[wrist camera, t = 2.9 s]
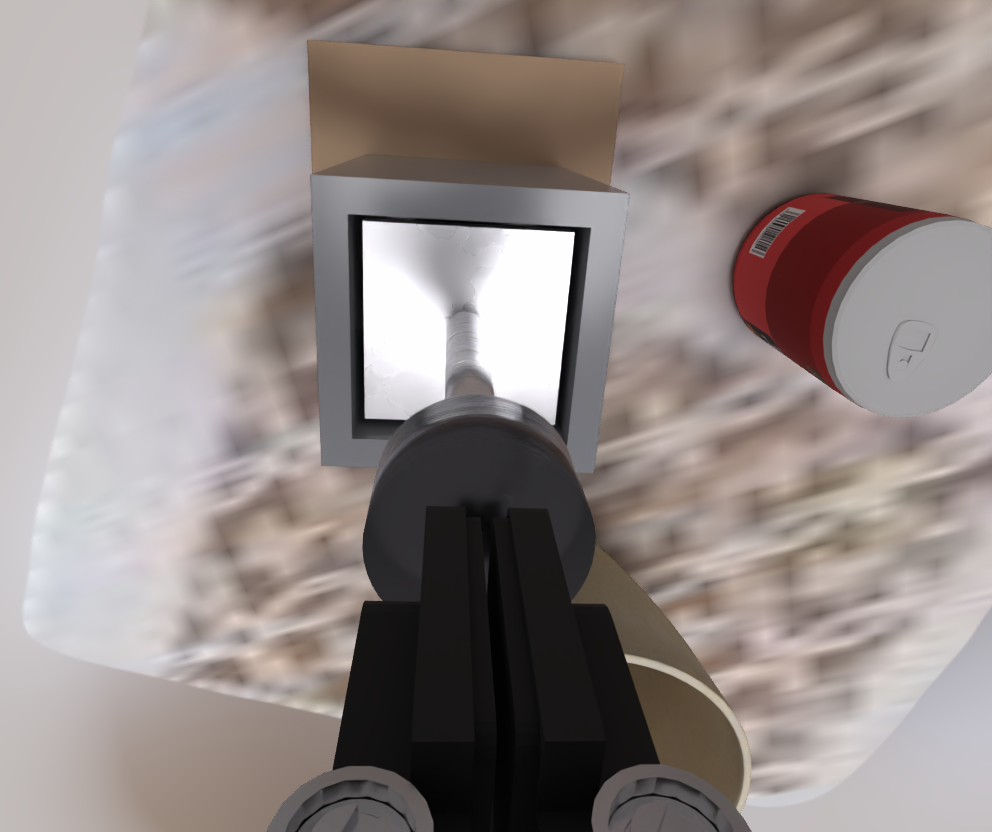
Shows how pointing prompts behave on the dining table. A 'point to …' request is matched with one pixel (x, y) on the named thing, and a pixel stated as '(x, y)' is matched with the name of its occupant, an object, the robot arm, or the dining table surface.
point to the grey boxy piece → (460, 199)
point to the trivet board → (462, 107)
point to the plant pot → (672, 685)
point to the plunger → (466, 388)
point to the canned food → (872, 299)
